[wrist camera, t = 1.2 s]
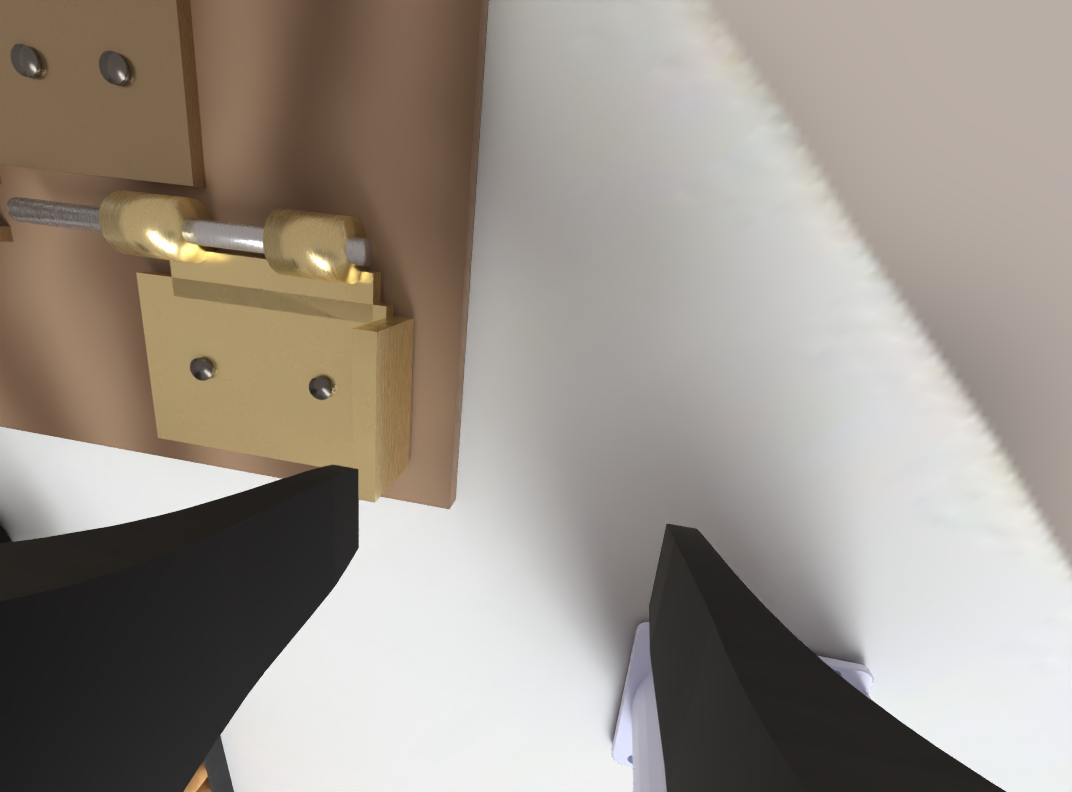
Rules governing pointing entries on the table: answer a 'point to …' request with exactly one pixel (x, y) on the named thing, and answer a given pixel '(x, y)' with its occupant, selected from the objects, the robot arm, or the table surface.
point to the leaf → (262, 332)
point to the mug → (3, 536)
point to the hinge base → (100, 90)
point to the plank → (252, 195)
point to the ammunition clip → (212, 772)
